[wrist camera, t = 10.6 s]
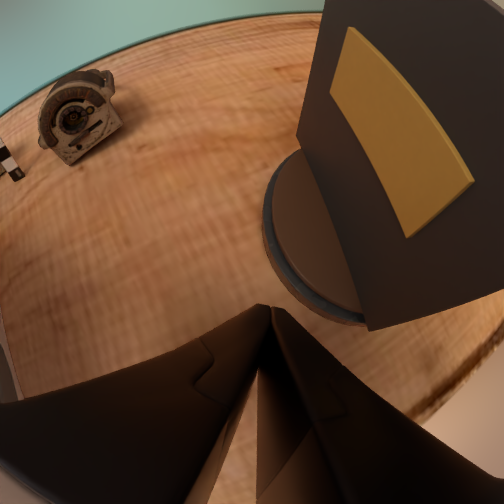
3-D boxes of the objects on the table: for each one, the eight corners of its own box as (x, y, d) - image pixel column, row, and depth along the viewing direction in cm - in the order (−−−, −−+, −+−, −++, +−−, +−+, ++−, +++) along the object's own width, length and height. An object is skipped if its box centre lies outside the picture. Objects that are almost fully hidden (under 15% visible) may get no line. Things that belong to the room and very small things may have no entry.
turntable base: (461, 270, 19) (472, 264, 18) (322, 366, 16) (330, 367, 15) (373, 136, 23) (378, 125, 22) (228, 183, 21) (227, 171, 19)
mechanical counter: (-3, 151, 15) (77, 98, 14) (41, 57, 19) (116, 12, 17) (48, 183, 22) (129, 151, 21) (74, 92, 26) (146, 58, 24)
